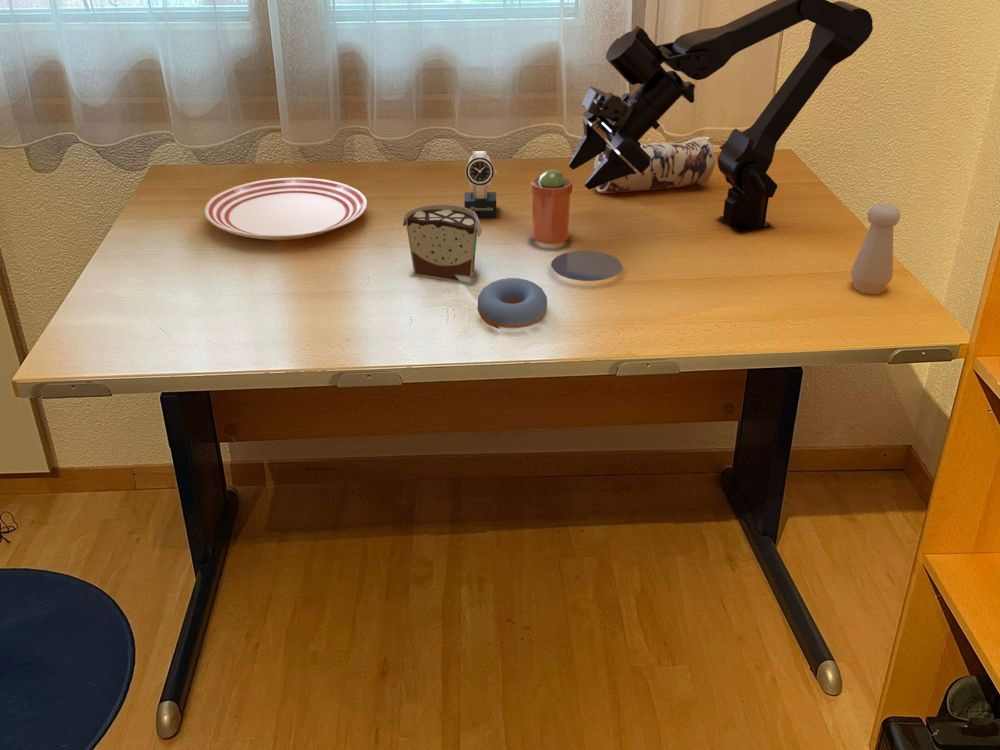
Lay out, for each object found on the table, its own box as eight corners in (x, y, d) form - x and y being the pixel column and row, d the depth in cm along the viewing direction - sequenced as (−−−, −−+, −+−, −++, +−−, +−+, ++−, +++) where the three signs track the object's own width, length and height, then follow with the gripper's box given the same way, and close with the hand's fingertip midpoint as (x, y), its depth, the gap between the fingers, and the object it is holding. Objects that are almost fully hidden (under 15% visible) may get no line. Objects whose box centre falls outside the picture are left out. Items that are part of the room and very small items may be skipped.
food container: (493, 268, 154) (493, 208, 149) (480, 285, 149) (479, 223, 144) (421, 257, 157) (418, 199, 152) (405, 273, 153) (401, 213, 147)
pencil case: (602, 200, 178) (605, 148, 173) (589, 184, 185) (592, 133, 180) (716, 191, 182) (722, 140, 176) (699, 176, 189) (705, 125, 184)
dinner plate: (327, 181, 187) (326, 164, 185) (395, 229, 168) (394, 210, 166) (185, 212, 174) (182, 194, 173) (241, 267, 155) (238, 248, 153)
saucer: (601, 252, 159) (601, 245, 158) (634, 280, 150) (635, 273, 150) (539, 263, 155) (539, 257, 155) (569, 293, 147) (569, 285, 146)
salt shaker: (891, 298, 145) (909, 216, 138) (850, 295, 146) (867, 213, 139) (885, 281, 149) (903, 200, 143) (846, 278, 150) (862, 198, 144)
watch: (464, 222, 170) (463, 161, 164) (465, 205, 177) (463, 145, 171) (497, 222, 170) (496, 160, 164) (496, 204, 177) (495, 145, 171)
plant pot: (568, 234, 165) (571, 163, 159) (571, 250, 160) (574, 177, 153) (529, 234, 165) (530, 163, 159) (531, 250, 160) (532, 177, 153)
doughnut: (524, 341, 134) (524, 312, 132) (463, 323, 139) (462, 294, 136) (559, 312, 141) (560, 284, 139) (501, 296, 146) (500, 268, 144)
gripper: (597, 54, 158) (530, 127, 161) (635, 85, 142) (560, 165, 146) (640, 100, 163) (574, 169, 167) (682, 134, 148) (608, 210, 151)
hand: (578, 177), depth 158 cm, fingers open, 9 cm apart
